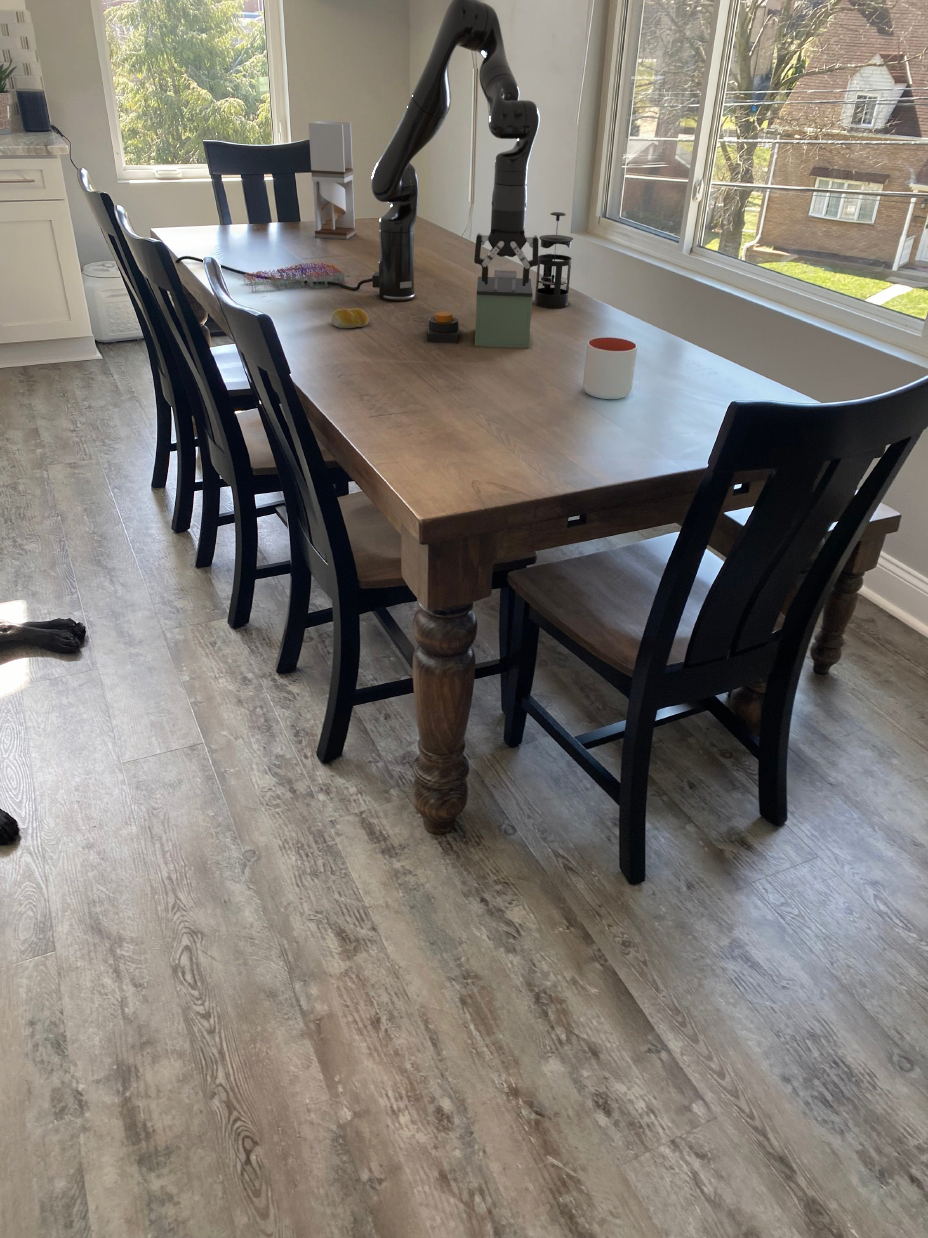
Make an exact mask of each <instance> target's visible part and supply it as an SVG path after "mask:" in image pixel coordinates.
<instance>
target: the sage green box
mask: <svg viewBox="0 0 928 1238" xmlns="http://www.w3.org/2000/svg"><path fill="white" fill-rule="evenodd" d="M475 301H476V302H475V303H476V305H475V327H474V328H475V329H474V347H491V348H492V347H494V348H520V349H529V348H530V335H531V334H530V333H531V322H532V321H531V319H532V305H533V296H532V297H520V296H495V295H477V294H476V300H475Z"/></svg>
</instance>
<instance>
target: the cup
mask: <svg viewBox="0 0 928 1238" xmlns="http://www.w3.org/2000/svg"><path fill="white" fill-rule="evenodd" d="M637 353H638V345H637V343H636V342H634V341H631V340H628V339H624V338H619V337H612V336H611V337H610V336H609V337H608V336H607V337H606V336H605V337H604V336H602V337H594V338H591V339H589V340H587V342H586V350H585V358H584V359H585V360H584V369H583V379H582V389H583V391H584V392H585V394H588V395H589V396H591V397H594V398H597V399H602V400H619V399H623V398H625V397H627V396H629V395H630V393H631V392H632V389H633V384H634V383H633V382H634V381H633V380H634V374H635V367H636V361H637Z"/></svg>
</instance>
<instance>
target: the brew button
mask: <svg viewBox="0 0 928 1238" xmlns="http://www.w3.org/2000/svg"><path fill="white" fill-rule="evenodd" d="M434 316H435V321H437V322H451V321H452V317H453V313H452V312H451V311H437V312H435V315H434Z"/></svg>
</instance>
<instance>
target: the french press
mask: <svg viewBox="0 0 928 1238" xmlns="http://www.w3.org/2000/svg"><path fill="white" fill-rule="evenodd" d="M550 216H555V221H556V230H555V234H543V235H539V237H538V240H540V247H541V248H543V249H550V248H551V247H553V246H554V252H553V253H545V254H540V255H538V265H537V266H536V279H535V280H536V281H535V293H534V300H533V305H535V306H537V307H540V308H545V309H563V308H566V307H568V306H569V290H570V279H571V269H572V259H573V258H572V257H571V256H568V255H565V254H557V246H558V245H563V246H567V248H568V249H571V248H572V242H573V241H574V238H573V237H571V236H568V235H561V234H558V231H559V222H560V221H561V217H565V216H567V213H565V212H561V211H553V212H550ZM541 265H543V274H542V276H540V271H541V270H540V269H541ZM563 267H567V273H566V277H564V276H562V275H563ZM539 284H542V286H541V287H539ZM563 285H566V286H565V289H564V288H561V287H562V286H563ZM552 286H553V287H552Z"/></svg>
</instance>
